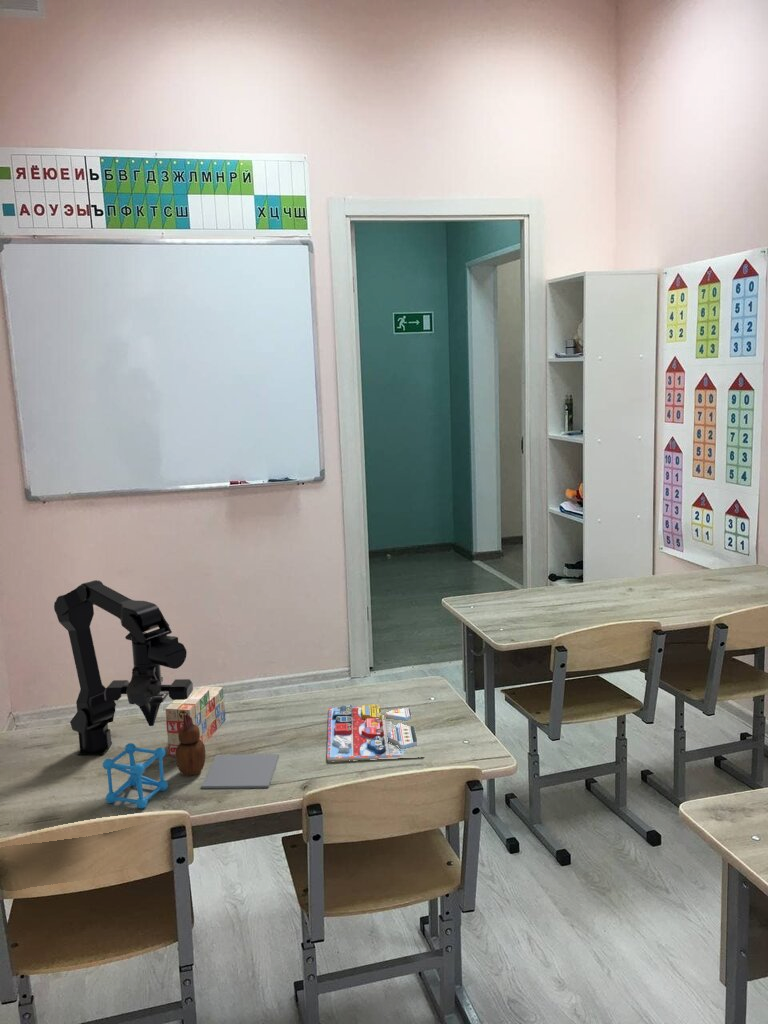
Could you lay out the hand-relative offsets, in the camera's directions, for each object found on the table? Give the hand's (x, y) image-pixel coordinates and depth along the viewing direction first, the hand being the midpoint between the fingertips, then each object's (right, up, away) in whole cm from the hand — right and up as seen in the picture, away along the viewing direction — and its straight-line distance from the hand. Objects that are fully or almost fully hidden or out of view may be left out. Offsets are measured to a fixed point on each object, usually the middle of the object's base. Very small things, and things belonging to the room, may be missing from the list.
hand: (151, 725), depth 190 cm
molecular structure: (-1, -14, -8) cm, 16 cm away
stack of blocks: (+6, -8, +20) cm, 23 cm away
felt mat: (+20, -11, +1) cm, 23 cm away
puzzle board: (+50, -8, +20) cm, 55 cm away
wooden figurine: (+9, -11, +2) cm, 14 cm away
